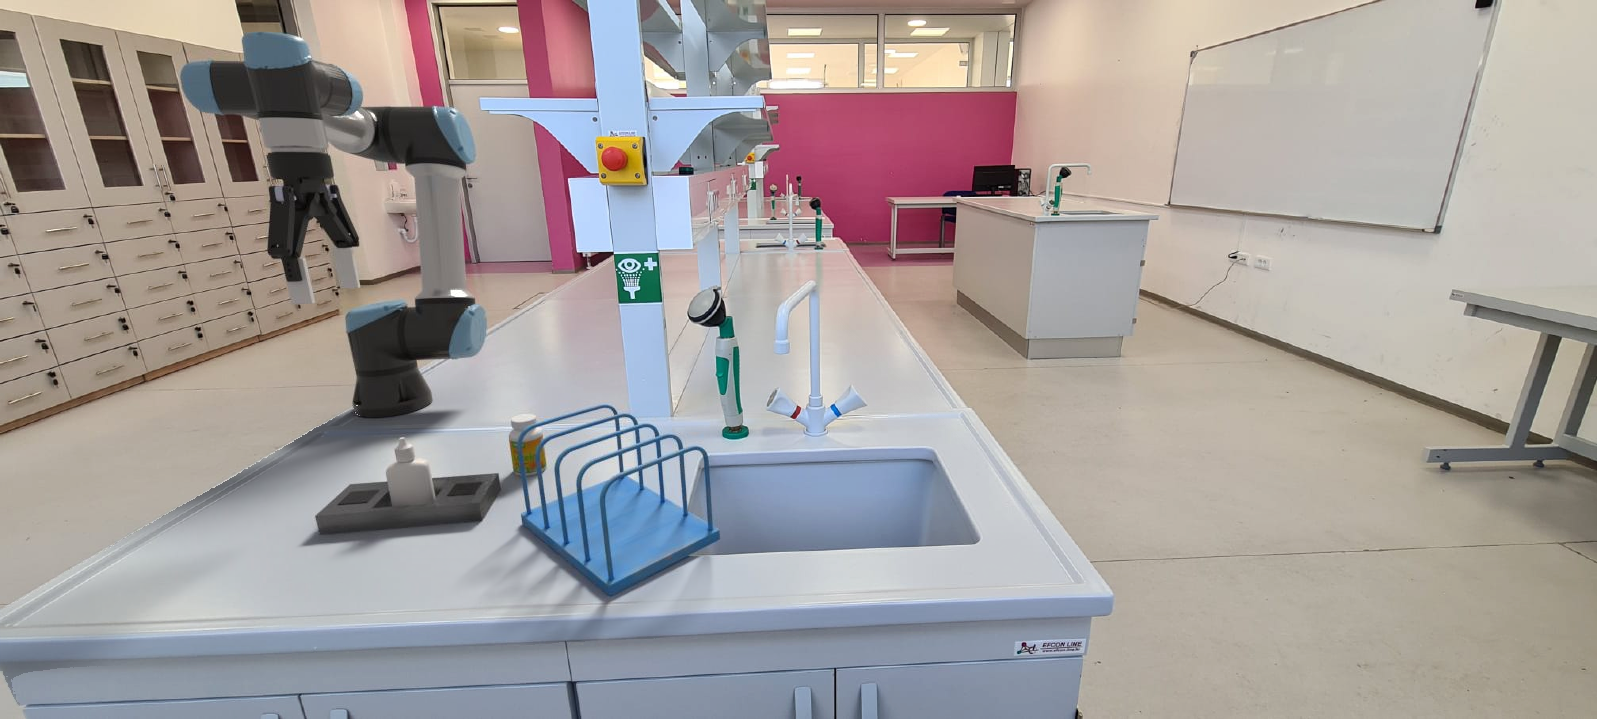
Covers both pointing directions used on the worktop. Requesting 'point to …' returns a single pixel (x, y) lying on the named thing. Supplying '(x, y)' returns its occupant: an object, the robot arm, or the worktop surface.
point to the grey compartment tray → (375, 512)
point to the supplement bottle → (526, 444)
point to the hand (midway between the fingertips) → (328, 295)
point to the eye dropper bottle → (409, 478)
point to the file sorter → (617, 512)
